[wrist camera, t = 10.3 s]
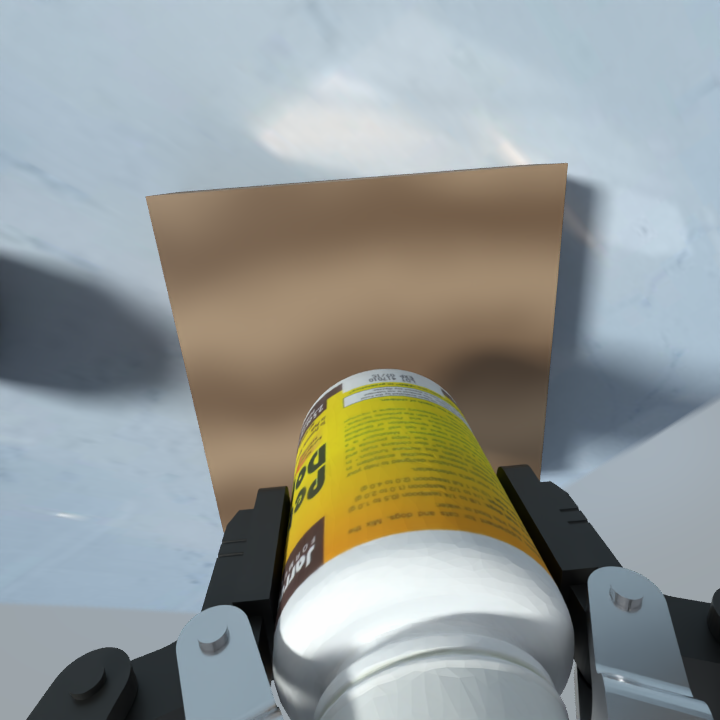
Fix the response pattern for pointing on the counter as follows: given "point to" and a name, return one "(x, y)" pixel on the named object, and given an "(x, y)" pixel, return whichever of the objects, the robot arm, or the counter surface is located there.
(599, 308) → the counter surface
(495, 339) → the walnut block
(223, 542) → the robot arm
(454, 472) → the supplement bottle
